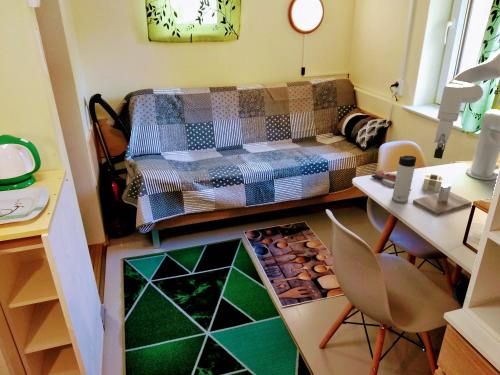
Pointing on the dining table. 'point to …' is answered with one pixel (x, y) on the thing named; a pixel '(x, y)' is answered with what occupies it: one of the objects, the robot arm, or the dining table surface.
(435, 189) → the wooden nightstand
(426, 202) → the board
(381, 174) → the walkie-talkie
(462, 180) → the dining table surface
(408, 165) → the travel mug
